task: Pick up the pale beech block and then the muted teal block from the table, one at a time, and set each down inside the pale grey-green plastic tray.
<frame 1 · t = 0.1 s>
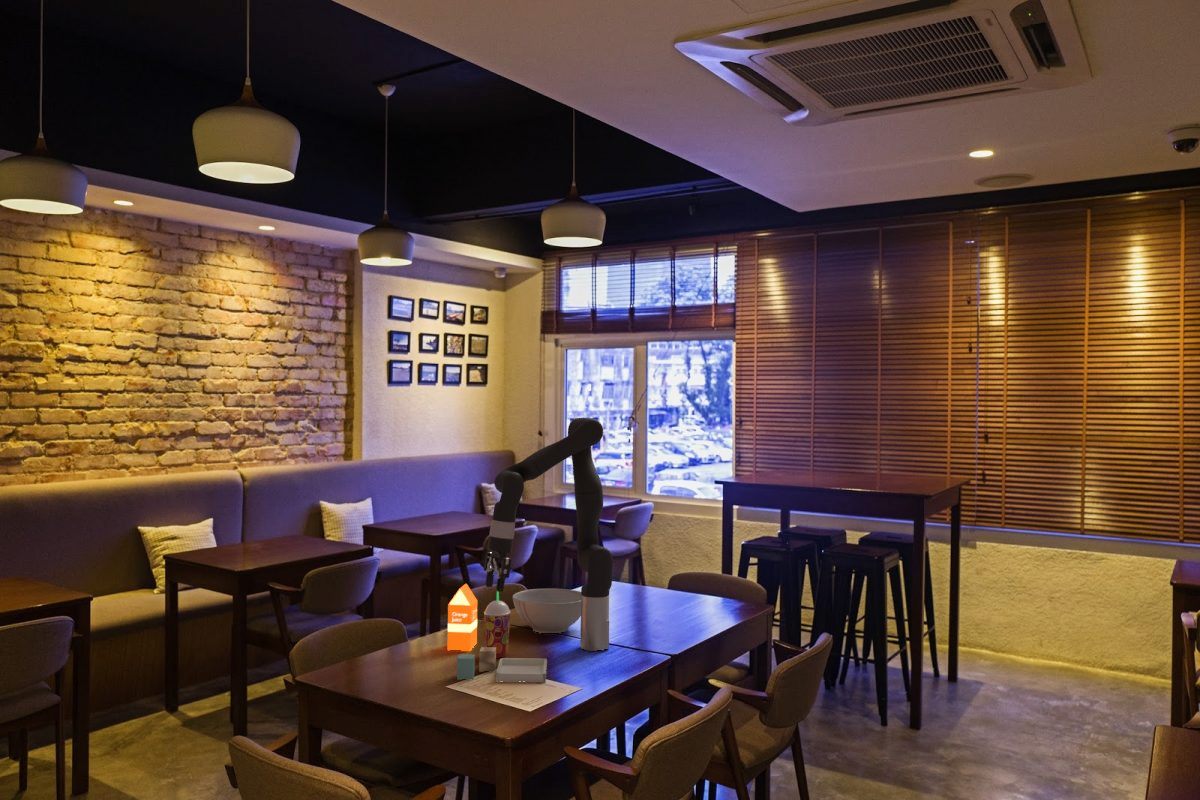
hand: (493, 589, 269), 22 cm above the table, tool pointing down, fingers open, 8 cm apart
orange juice: (462, 648, 286), on the table
decorative bowl: (549, 630, 311), on the table
beech block: (487, 669, 261), on the table
tray: (522, 674, 257), on the table
teal block: (465, 677, 253), on the table
smoothie: (496, 656, 276), on the table
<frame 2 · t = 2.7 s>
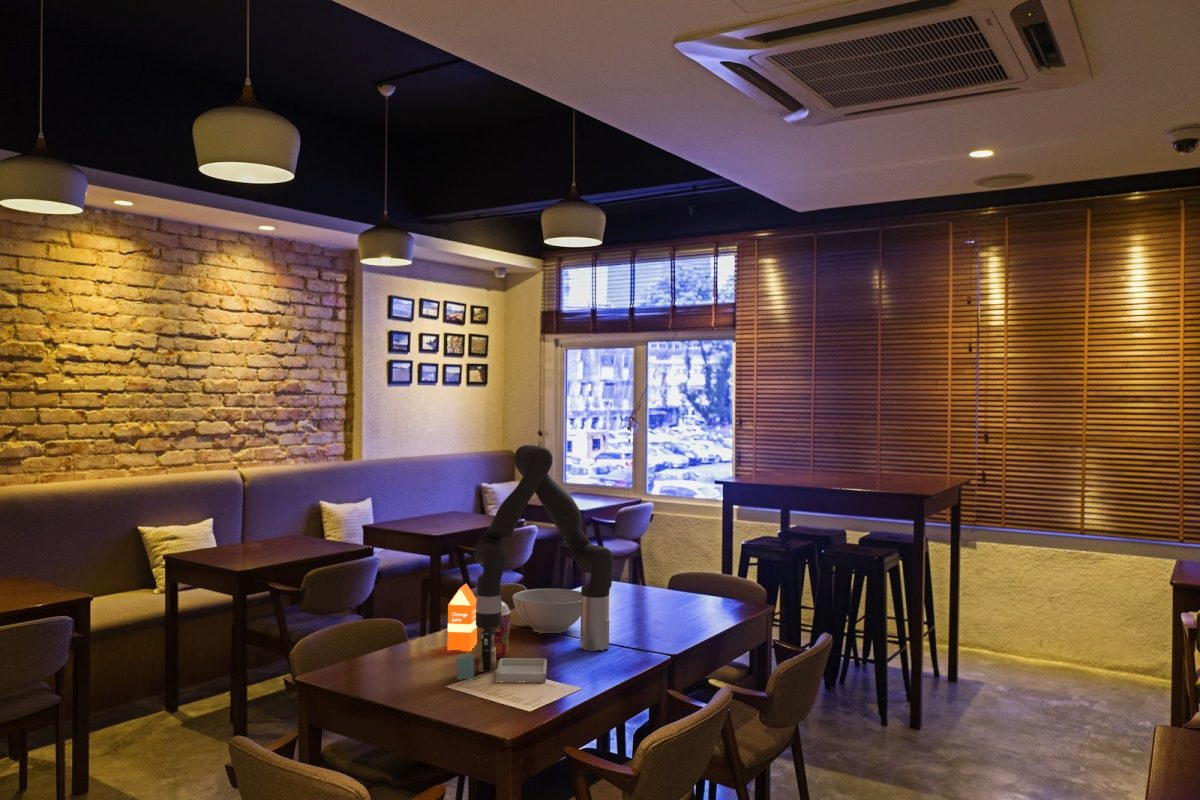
hand: (487, 667, 261), 1 cm above the table, tool pointing down, fingers closed on beech block, 4 cm apart
beech block: (487, 669, 261), on the table, touching gripper
everything else where it was.
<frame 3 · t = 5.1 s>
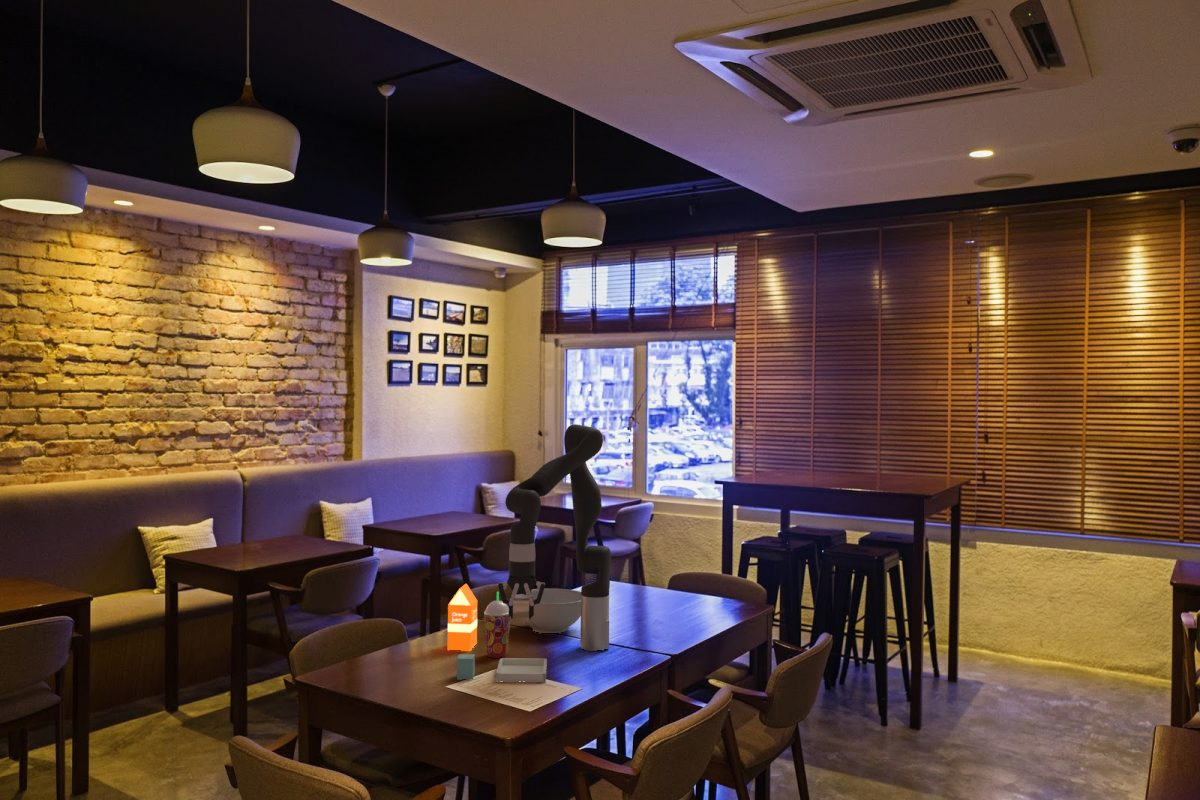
hand: (521, 618, 253), 17 cm above the table, tool pointing down, fingers closed on beech block, 4 cm apart
beech block: (521, 620, 253), point 17 cm above the table, touching gripper
everything else where it was.
when the fingers open (3 cm above the table, at t = 7.7 s): beech block drops 1 cm, resting on tray.
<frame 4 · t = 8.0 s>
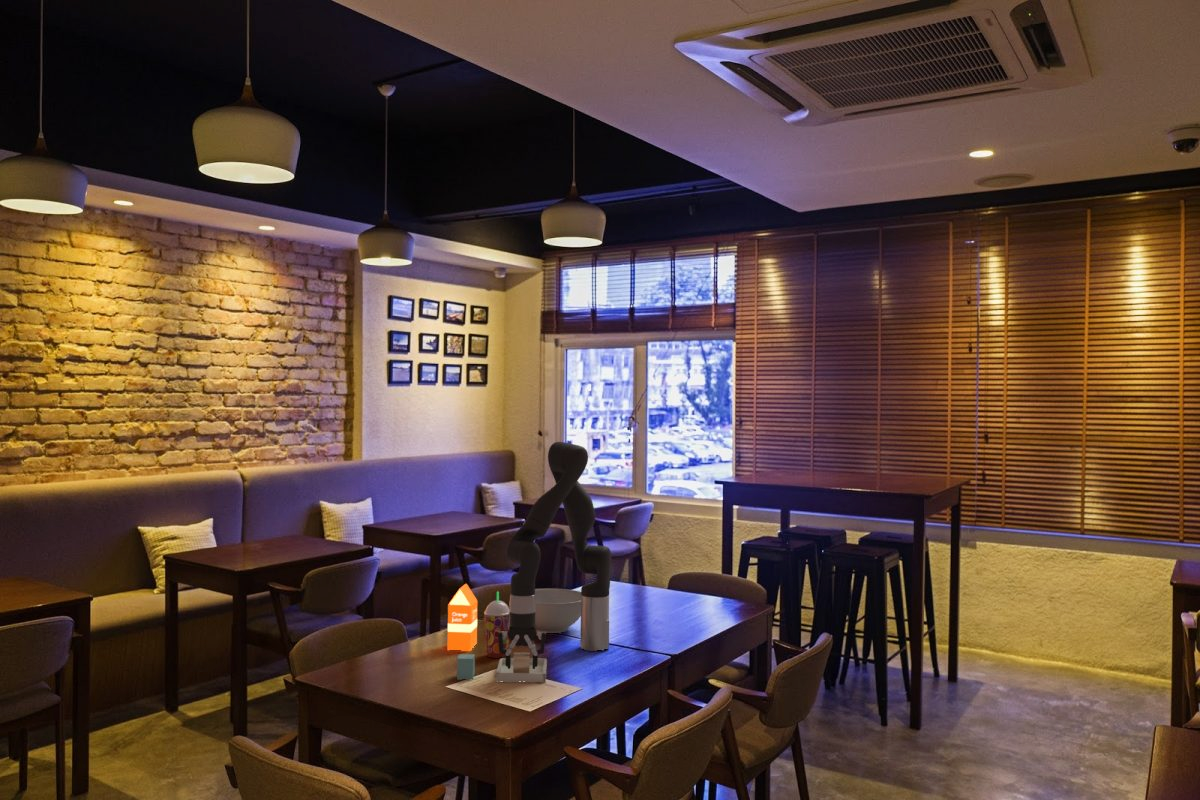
hand: (521, 667, 253), 3 cm above the table, tool pointing down, fingers open, 6 cm apart
beech block: (521, 675, 253), point 1 cm above the table, touching tray
everything else where it was.
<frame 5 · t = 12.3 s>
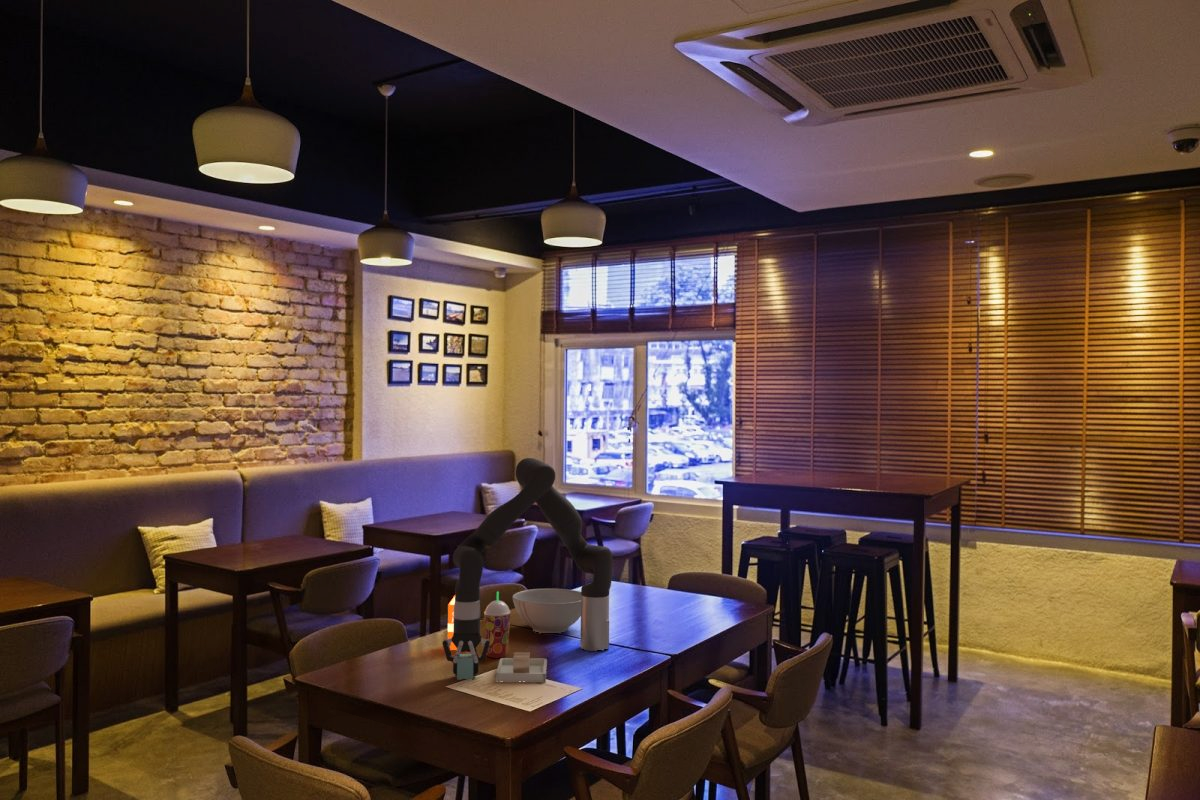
hand: (465, 675, 253), 1 cm above the table, tool pointing down, fingers closed on teal block, 4 cm apart
teal block: (465, 677, 253), on the table, touching gripper
everything else where it was.
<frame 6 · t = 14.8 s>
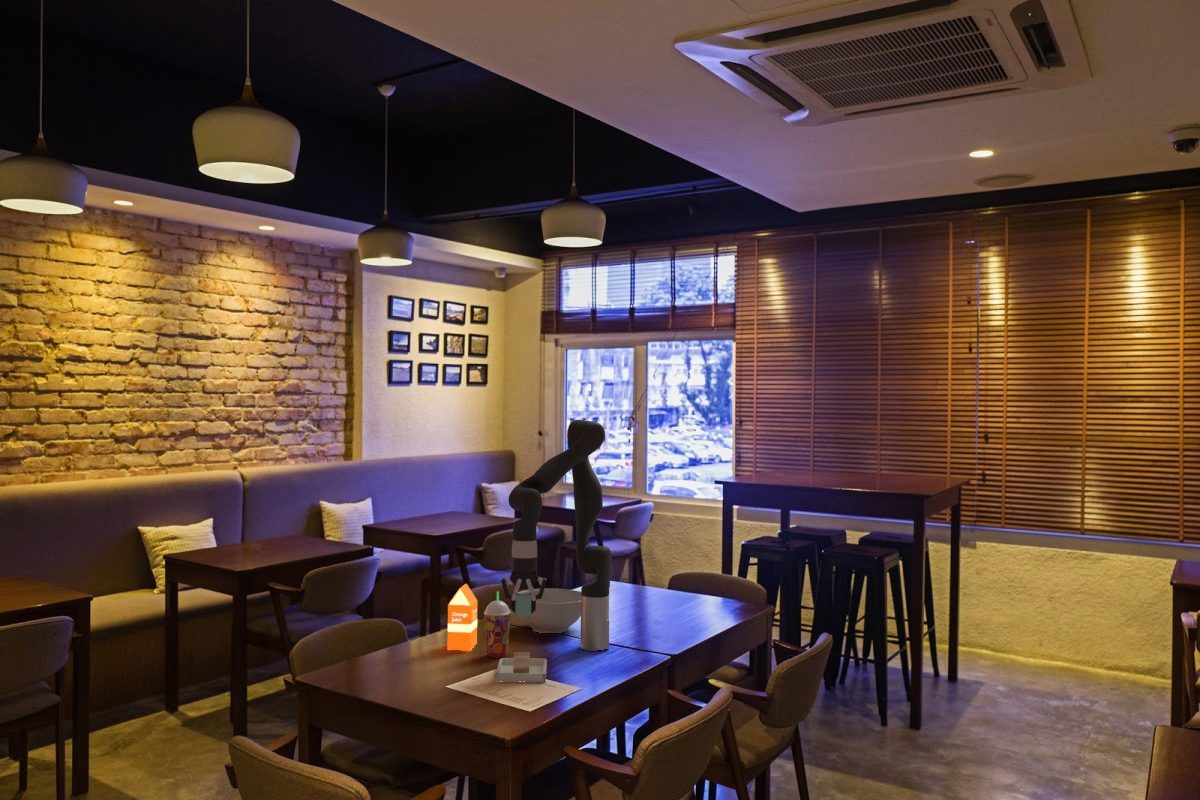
hand: (523, 612, 261), 17 cm above the table, tool pointing down, fingers closed on teal block, 4 cm apart
teal block: (523, 614, 261), point 16 cm above the table, touching gripper
everything else where it was.
when the fingers open (3 cm above the table, at t = 17.4 s): teal block drops 1 cm, resting on tray.
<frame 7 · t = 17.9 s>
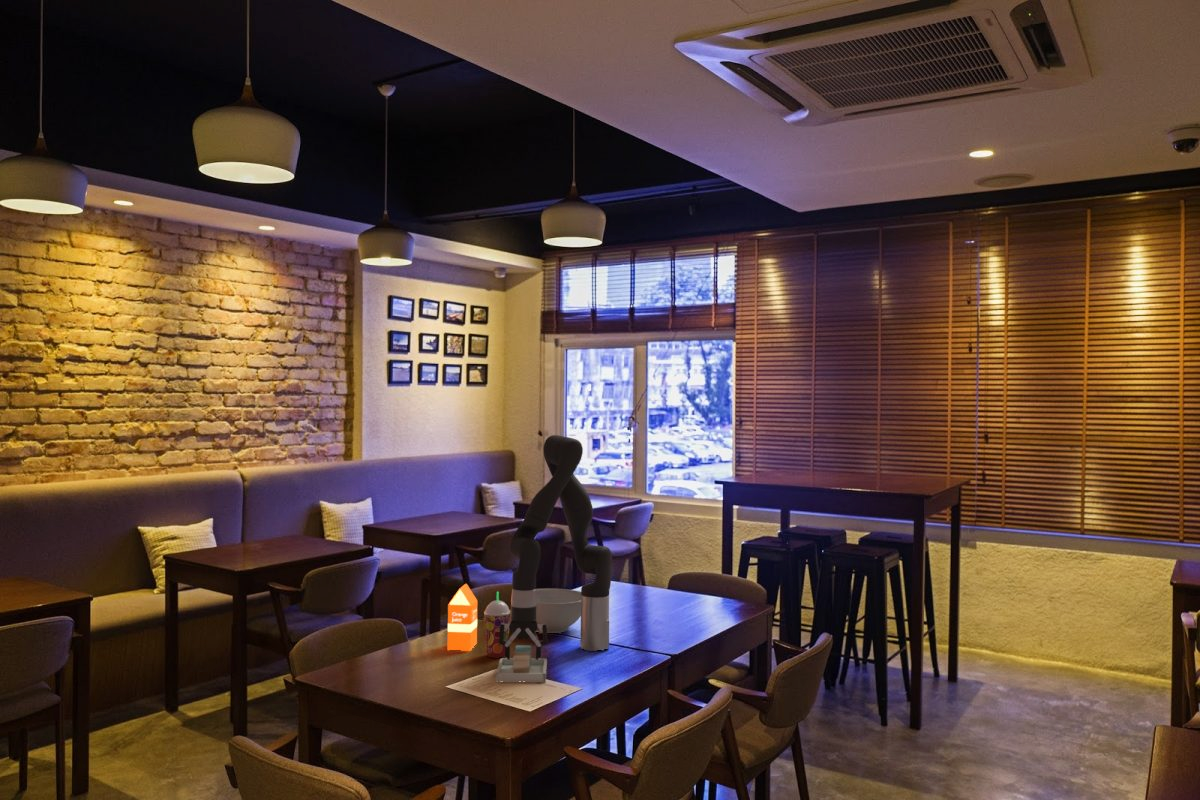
hand: (523, 658, 261), 3 cm above the table, tool pointing down, fingers open, 8 cm apart
teal block: (522, 667, 260), point 1 cm above the table, touching tray
everything else where it was.
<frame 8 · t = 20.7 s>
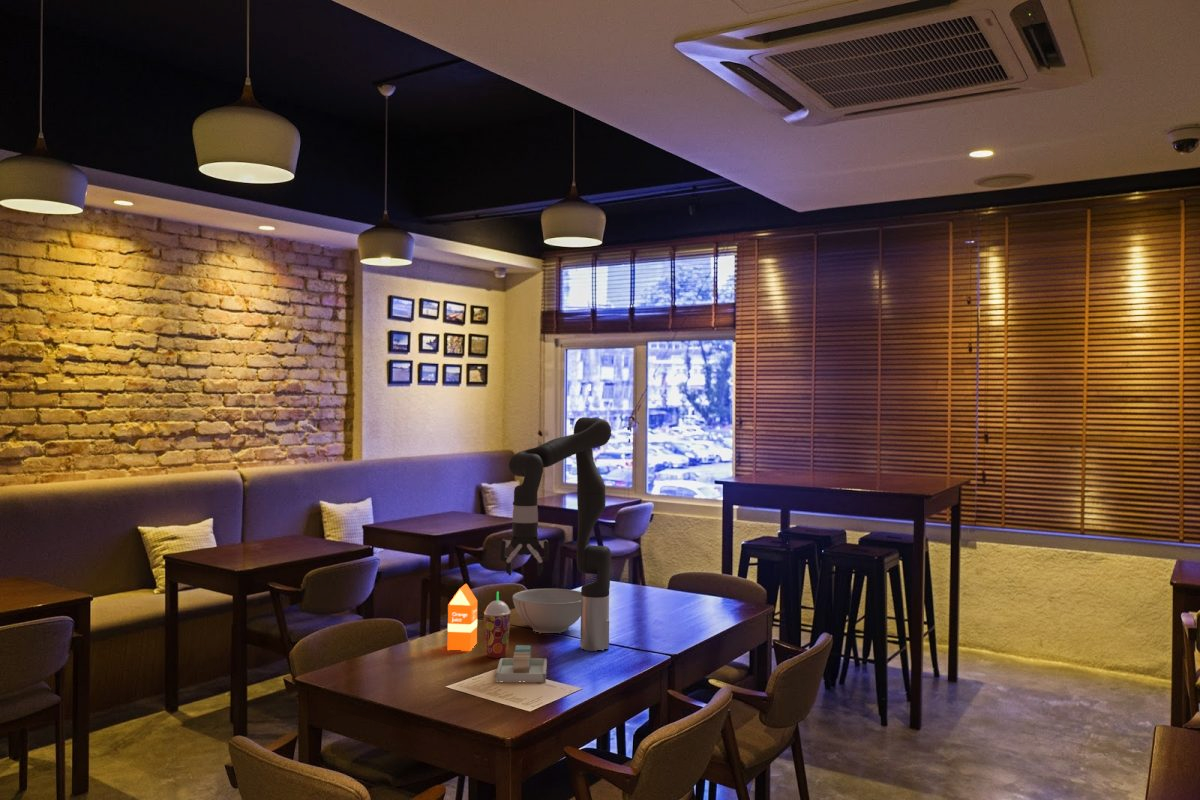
hand: (524, 575, 261), 28 cm above the table, tool pointing down, fingers open, 8 cm apart
nothing on the table moved.
at the end: beech block inside the target area on the tray (4.0 cm from its centre), point 0.8 cm above the tray's base; teal block inside the target area on the tray (4.0 cm from its centre), point 0.8 cm above the tray's base; the gripper is holding nothing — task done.
